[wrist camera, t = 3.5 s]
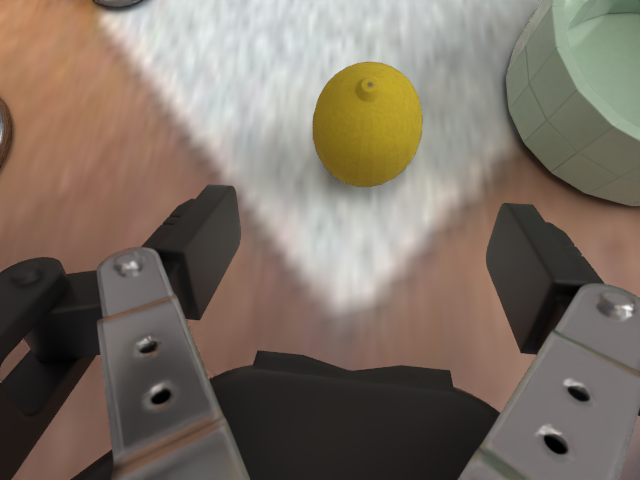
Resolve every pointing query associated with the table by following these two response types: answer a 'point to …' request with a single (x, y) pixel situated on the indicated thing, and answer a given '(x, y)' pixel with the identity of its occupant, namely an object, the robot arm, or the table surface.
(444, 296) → the table surface
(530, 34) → the bowl
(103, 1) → the pocket watch
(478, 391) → the table surface
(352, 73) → the lemon
